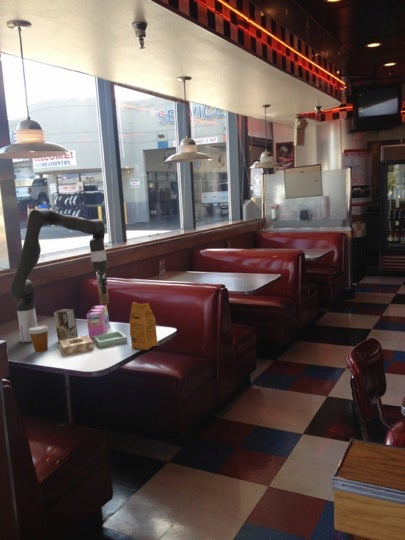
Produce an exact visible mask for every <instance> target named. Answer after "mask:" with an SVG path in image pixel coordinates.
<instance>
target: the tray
mask: <svg viewBox="0 0 405 540" xmlns="http://www.w3.org/2000/svg"><path fill="white" fill-rule="evenodd" d="M93 338H94V339H93V343H95V345H96V346H97V347H98V348H99V349H102V348H108V347H113V346H116V345H117V346H118V345H123V344H127V343H128V338H127V335H125V334H124V333H123V332H122V331H121V330H115V331H112V332H107V333H106V334H101V335H96V336H93Z"/></svg>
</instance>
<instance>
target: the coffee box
mask: <svg viewBox="0 0 405 540" xmlns="http://www.w3.org/2000/svg"><path fill="white" fill-rule="evenodd" d="M75 313H76V312H75V309H74V308H71V309H70V308H69V309H67V308H66V309H65V308H61V309H58V310H56V311H54V312H53V316H54V322H55V328H56V329H55V330H56V335H57V336H56V337H57V341H58V342H60V341H61V340H66V339H71V338H76V337H79V335H78V328H77V326H78V325H77V321H76V320H77V319H76V314H75Z"/></svg>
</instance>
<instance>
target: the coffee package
mask: <svg viewBox="0 0 405 540" xmlns="http://www.w3.org/2000/svg"><path fill="white" fill-rule="evenodd" d="M150 306H151V303H148V302H147V303H137V302H135V301H132V304H131V307H130V310H131V311H130V315H129V335H130V340H131V341H130V342H131V343H130V344H131V349H137V350H139V351H149V350H150V349H151V348H153V347H155V346H157V345H158V343H159V342H158V336H157V326H156V325H157V324H156V317H155V314H154V313H153V310H152V309H151V307H150Z"/></svg>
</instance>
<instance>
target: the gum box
mask: <svg viewBox="0 0 405 540" xmlns="http://www.w3.org/2000/svg"><path fill="white" fill-rule="evenodd" d="M109 319H110V318H109V311H108V304H103V305H101V304H99V305H97V304H94V305H93V306H92V307H91V309H89V311H88V312H87V313H86V322H87V323H86V324H87V329H88V330H87V331H88V337H89V338H90V339H91V340H94V338H93V336H96V335H101V334H106V333H108V331H109V329H110V326H111V324H110V320H109Z"/></svg>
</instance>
